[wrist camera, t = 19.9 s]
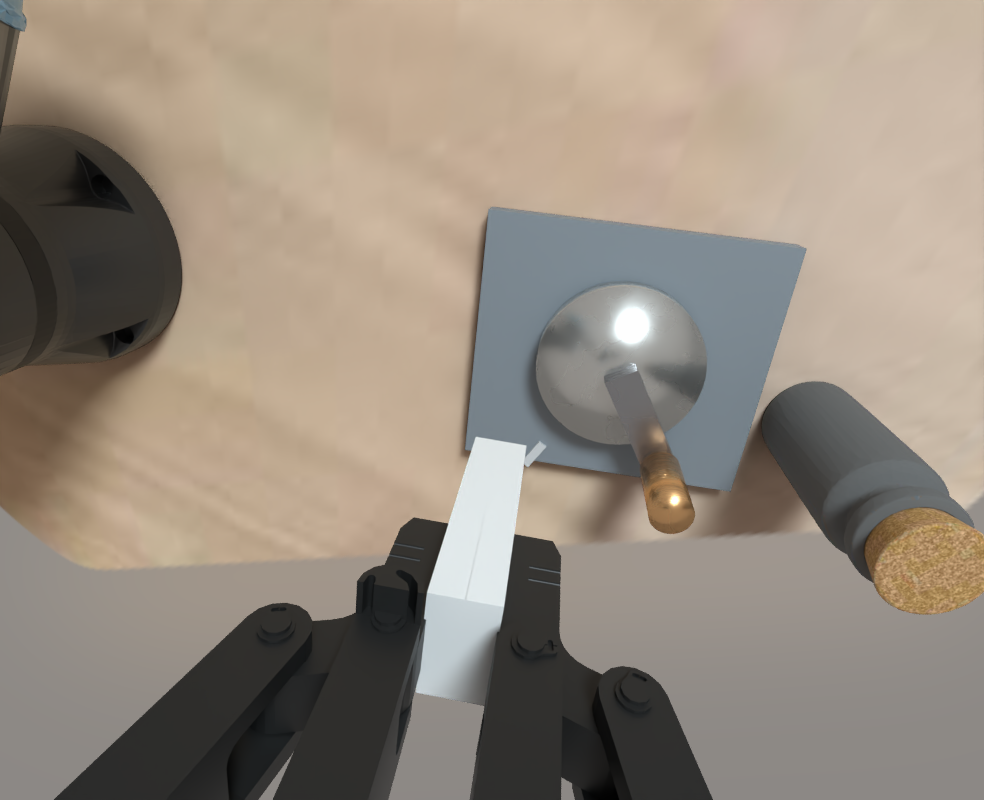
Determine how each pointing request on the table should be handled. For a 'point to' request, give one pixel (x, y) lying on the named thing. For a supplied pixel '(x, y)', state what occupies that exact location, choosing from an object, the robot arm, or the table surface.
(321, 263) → the table surface
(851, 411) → the bottle
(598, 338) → the dial
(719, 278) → the board
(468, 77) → the table surface
